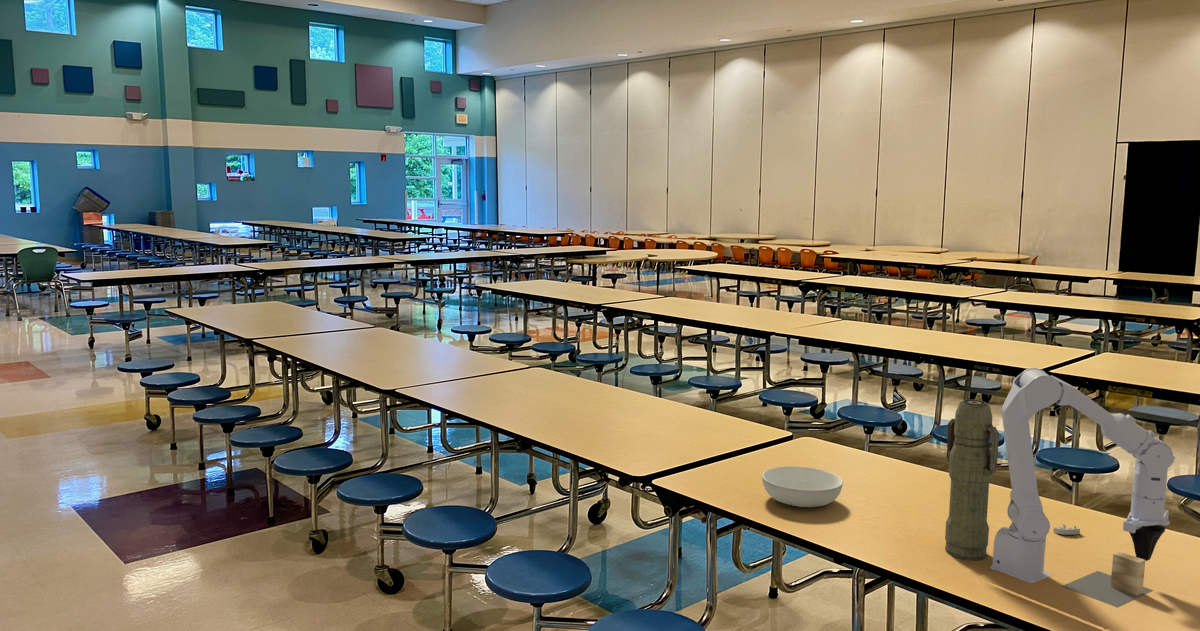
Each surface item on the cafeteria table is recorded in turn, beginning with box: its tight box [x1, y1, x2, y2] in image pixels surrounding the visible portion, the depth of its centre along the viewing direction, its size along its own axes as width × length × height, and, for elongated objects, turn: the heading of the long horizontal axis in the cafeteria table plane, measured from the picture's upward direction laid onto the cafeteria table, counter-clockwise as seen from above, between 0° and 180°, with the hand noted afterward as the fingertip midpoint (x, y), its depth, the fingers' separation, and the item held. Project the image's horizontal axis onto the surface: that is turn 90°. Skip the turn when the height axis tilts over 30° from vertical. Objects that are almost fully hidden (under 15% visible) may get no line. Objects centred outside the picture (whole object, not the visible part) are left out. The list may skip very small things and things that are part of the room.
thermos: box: [944, 399, 1000, 561], centre depth 190 cm, size 9×12×35 cm
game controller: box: [1053, 524, 1081, 537], centre depth 201 cm, size 6×12×3 cm, turn 23°
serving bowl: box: [761, 465, 844, 508], centre depth 225 cm, size 21×21×7 cm
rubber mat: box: [1061, 570, 1154, 608], centre depth 173 cm, size 11×14×1 cm
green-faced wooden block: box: [1110, 551, 1146, 596], centre depth 171 cm, size 5×3×7 cm, turn 32°
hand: (1143, 558), depth 174 cm, fingers closed
